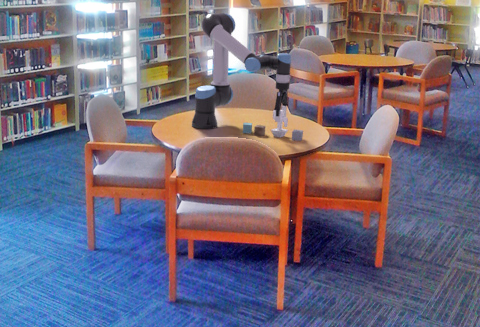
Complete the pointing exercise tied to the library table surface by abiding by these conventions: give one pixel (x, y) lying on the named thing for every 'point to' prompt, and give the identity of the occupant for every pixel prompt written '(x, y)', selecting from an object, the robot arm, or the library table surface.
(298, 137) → the slate-grey block
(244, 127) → the dusty-teal block
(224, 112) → the library table surface
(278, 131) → the figurine
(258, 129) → the walnut block
